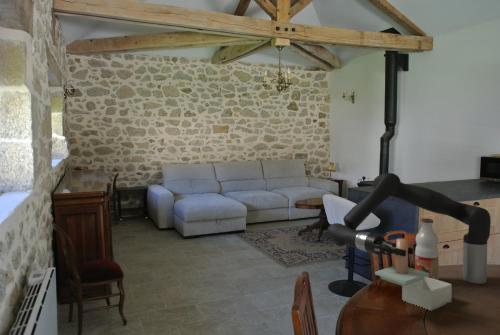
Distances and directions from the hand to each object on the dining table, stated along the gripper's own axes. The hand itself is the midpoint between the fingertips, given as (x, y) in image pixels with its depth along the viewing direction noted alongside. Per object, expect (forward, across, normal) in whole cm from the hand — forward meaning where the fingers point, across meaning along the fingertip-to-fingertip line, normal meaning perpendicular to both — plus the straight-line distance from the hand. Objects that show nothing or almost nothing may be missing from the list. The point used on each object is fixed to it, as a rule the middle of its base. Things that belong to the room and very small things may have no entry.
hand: (409, 252), depth 138 cm
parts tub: (-3, +16, +23) cm, 28 cm away
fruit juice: (-15, +36, +23) cm, 45 cm away
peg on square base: (-3, 0, +10) cm, 11 cm away
